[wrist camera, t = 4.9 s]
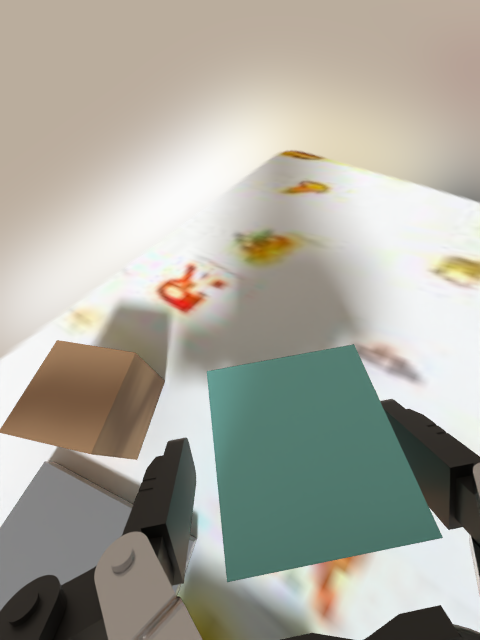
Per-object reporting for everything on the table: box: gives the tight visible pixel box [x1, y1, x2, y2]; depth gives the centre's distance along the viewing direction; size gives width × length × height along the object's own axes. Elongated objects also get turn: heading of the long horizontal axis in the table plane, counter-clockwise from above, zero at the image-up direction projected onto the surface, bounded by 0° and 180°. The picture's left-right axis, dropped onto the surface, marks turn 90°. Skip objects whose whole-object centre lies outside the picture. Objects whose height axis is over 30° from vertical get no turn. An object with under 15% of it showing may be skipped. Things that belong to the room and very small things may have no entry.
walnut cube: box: [0, 340, 165, 460], centre depth 15 cm, size 5×5×5 cm
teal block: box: [207, 344, 443, 582], centre depth 10 cm, size 4×4×10 cm
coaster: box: [0, 462, 197, 611], centre depth 12 cm, size 10×10×1 cm
